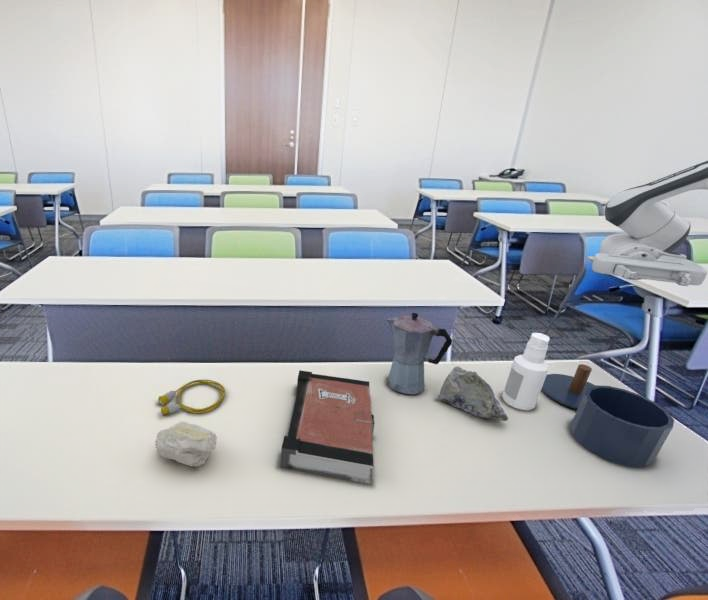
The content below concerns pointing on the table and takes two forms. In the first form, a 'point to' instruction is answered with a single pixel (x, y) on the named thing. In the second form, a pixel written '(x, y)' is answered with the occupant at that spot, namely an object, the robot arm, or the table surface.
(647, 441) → the pot
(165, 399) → the extension cord
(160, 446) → the white rock
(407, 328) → the moka pot
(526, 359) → the spray bottle
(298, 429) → the book
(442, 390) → the mineral rock
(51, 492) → the table surface
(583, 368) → the lid
